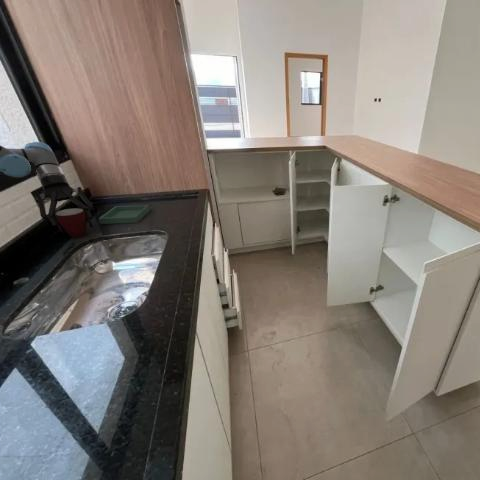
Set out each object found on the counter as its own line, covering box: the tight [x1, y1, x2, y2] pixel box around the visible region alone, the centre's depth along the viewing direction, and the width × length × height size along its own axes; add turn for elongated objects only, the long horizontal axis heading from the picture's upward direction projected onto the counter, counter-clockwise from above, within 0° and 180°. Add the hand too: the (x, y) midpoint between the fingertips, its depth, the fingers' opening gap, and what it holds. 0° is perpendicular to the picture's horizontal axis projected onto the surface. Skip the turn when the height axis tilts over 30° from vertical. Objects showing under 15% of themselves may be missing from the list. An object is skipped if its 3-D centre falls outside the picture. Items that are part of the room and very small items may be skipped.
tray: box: [98, 204, 151, 225], centre depth 121 cm, size 15×15×3 cm
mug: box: [55, 207, 88, 239], centre depth 103 cm, size 10×8×10 cm
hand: (77, 229), depth 101 cm, fingers closed on mug, 8 cm apart
